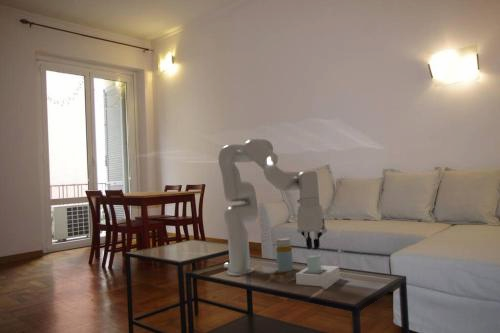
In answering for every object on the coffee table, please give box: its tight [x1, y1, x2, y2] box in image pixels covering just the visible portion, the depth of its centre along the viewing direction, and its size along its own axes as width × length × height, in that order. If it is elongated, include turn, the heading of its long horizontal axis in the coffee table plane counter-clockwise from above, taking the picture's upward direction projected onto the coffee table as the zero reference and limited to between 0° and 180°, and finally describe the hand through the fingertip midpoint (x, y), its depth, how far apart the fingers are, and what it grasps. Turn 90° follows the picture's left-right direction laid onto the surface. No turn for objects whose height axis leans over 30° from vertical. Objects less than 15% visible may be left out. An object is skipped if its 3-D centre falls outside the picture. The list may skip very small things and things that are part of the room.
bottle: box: [275, 237, 294, 272], centre depth 178 cm, size 7×7×15 cm
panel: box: [295, 264, 341, 290], centre depth 156 cm, size 12×16×5 cm
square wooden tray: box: [266, 270, 296, 284], centre depth 161 cm, size 10×8×4 cm
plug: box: [306, 254, 322, 273], centre depth 154 cm, size 4×4×10 cm
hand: (313, 248), depth 154 cm, fingers closed
